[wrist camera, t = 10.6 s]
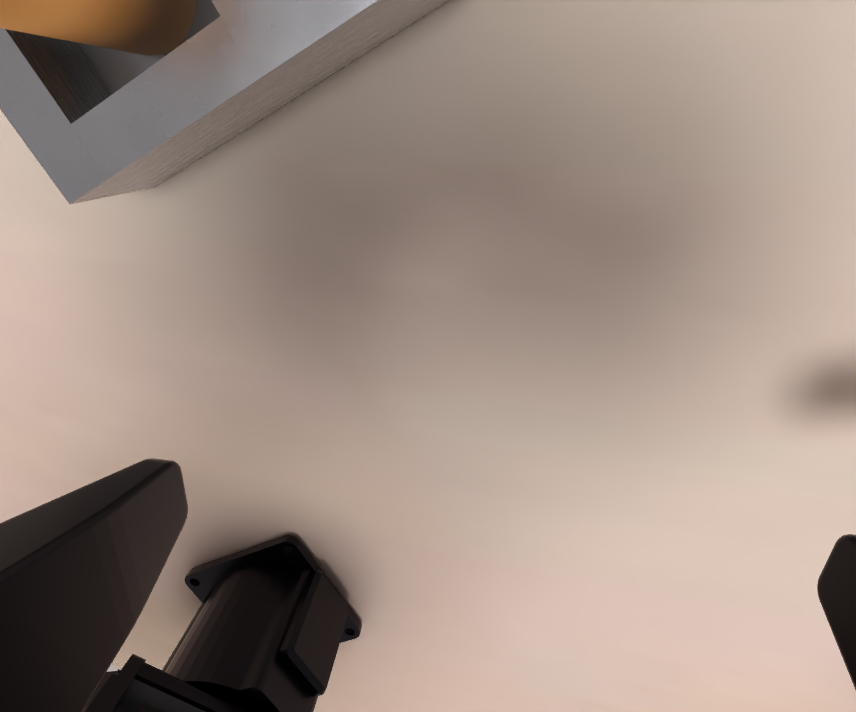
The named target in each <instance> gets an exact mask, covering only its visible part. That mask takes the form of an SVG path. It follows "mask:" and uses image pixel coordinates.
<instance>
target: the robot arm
mask: <svg viewBox="0 0 856 712" xmlns="http://www.w3.org/2000/svg"><path fill="white" fill-rule="evenodd" d="M187 512H188V506H187V499H186V494H185V488H184V483H183V477H182V472H181V468H180V466H179V465H178V463H176V462H174V461H171V460H161V459H146V460H143V461H141V462H138V463H136V464H134V465H132V466H129V467H127V468H125V469H123V470H120V471H118V472H116V473H113V474H111V475H109V476H107V477H104V478H102V479H100V480H98V481H95V482H93V483H91V484H89V485H86V486H84V487H82V488H79V489H77V490H75V491H73V492H70V493H68V494H66V495H64V496H61V497H59V498H57V499H54V500H52V501H50V502H48V503H45V504H43V505H41V506H39V507H36V508H34V509H32V510H29V511H27V512H25V513H23V514H20V515H18V516H16V517H14V518H11V519H9V520H7V521H5V522H2V523H0V712H313V711H314V708H315V704H316V701H317V698H318V696H319V695H322V694H324V692H325V690H326V687H327V684H328V681H329V677H330V674H331V671H332V667H333V664H334V660H335V657H336V653H337V650H338V646H339V643H341V642H345V641H348V640H352V639H355V638H357V637H359V635H360V632H361V628H362V624H361V622H360V621H359V619H358V618H357V617H356V615H355V614H354V613H353V611H352V610H351V609H350V607H349V606H348V605H347V603H346V602H345V601H344V599H343V598H342V597H341V595H340V594H339V593H338V591H337V590H336V589H335V587H334V586H333V584H332V583H331V582H330V580H329V579H328V578H327V576H326V575H325V574H324V572H323V571H322V570H321V568H320V567H319V566H318V564H317V563H316V562H315V560H314V559H313V558H312V556H311V555H310V554H309V552H308V551H307V549H306V548H305V547H304V545H303V544H302V543H301V541H300V540H299V539H298V538H296V537H294V536H290V535H288V536H283V537H281V538H278V539H275V540H272V541H269V542H266V543H264V544H261V545H258V546H255V547H252V548H249V549H247V550H244V551H241V552H238V553H235V554H232V555H230V556H227V557H224V558H221V559H218V560H216V561H213V562H210V563H207V564H204V565H201V566H199V567H196V568H193V569H191V570H190V571H189V573H188V574H187V576H186V578H185V583H186V584H187V586H188V587H189V588H190V589H191V590H192V591H193V593H194V594H195V595H196V596H197V597H198V598H199V600H200V601H201V602H202V605H201V606H200V608H199V610H198V611H197V613H196V615H195V616H194V618H193V620H192V621H191V623H190V625H189V626H188V628H187V630H186V631H185V633H184V635H183V636H182V638H181V640H180V641H179V643H178V645H177V646H176V648H175V650H174V651H173V653H172V655H171V656H170V658H169V660H168V661H167V663H166V665H165V666H164V668H163V670H160V669H157V668H155V667H153V666H151V665H149V664H147V663H145V661H146V660H145V659H143V658H141V657H139V656H137V655H135V654H132V656H131V657H130V658H129V660H128V661H127V663H126V664H125V665H124V667H123V668H122V670H119V669H118V671H112V672H106V671H107V669H108V668H109V666H110V665H111V663H112V661H113V660H114V658H115V657H116V655H117V653H118V652H119V650H120V648H121V647H122V645H123V644H124V642H125V640H126V638H127V637H128V635H129V633H130V632H131V630H132V628H133V627H134V625H135V623H136V621H137V619H138V617H139V615H140V614H141V612H142V610H143V608H144V606H145V604H146V602H147V600H148V598H149V596H150V594H151V592H152V589H153V587H154V585H155V583H156V581H157V579H158V577H159V575H160V573H161V571H162V569H163V567H164V565H165V563H166V561H167V559H168V557H169V555H170V553H171V550H172V548H173V546H174V544H175V542H176V540H177V538H178V536H179V534H180V532H181V530H182V528H183V526H184V524H185V521H186V518H187ZM288 546H289V547H291V548H289V547H288ZM818 596H819V599H820V602H821V605H822V607H823V610H824V612H825V615H826V617H827V620H828V622H829V625H830V627H831V630H832V632H833V635H834V637H835V640H836V642H837V645H838V647H839V650H840V652H841V655H842V657H843V660H844V662H845V665H846V667H847V670H848V672H849V675H850V677H851V680H852V682H853V685H854V687H855V690H856V535H852V534H848V535H843V536H842V537H841V538H839V539H838V540H837V542H836V543H835V546H834V548H833V550H832V552H831V554H830V556H829V558H828V560H827V562H826V564H825V566H824V568H823V570H822V573H821V575H820V577H819V580H818Z"/></svg>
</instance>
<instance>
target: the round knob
mask: <svg viewBox="0 0 856 712" xmlns="http://www.w3.org/2000/svg"><path fill="white" fill-rule="evenodd" d="M195 5H196V0H0V28H2V29H8V30H13V31H18V32H24V33H29V34H34V35H40V36H45V37H50V38H56V39H61V40H66V41H72V42H77V43H82V44H88V45H93V46H98V47H104V48H109V49H114V50H120V51H125V52H130V53H136V54H141V55H149V56H152V55H160V54H164V53H167V52H169V51H171V50H172V49H174V48H176V47H177V46H178V45H179V44H180V43H181V42H182V41H183V40H184V38H185V37H186V35H187V34H188V32H189V30H190V27H191V25H192V22H193V19H194V14H195Z"/></svg>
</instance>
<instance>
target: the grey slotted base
mask: <svg viewBox="0 0 856 712" xmlns="http://www.w3.org/2000/svg"><path fill="white" fill-rule="evenodd" d="M447 1H449V0H196V5H195V14H194V19H193V22H192V25H191V27H190V30H189V32H188V34H187V35H186V37H185V38H184V40H183V41H182V42H181V43H180V44H179V45H178V46H177V47H176V48H174V49H172V50H171V51H169V52H167V53H164V54H160V55H152V56H149V55H141V54H136V53H130V52H125V51H120V50H114V49H109V48H104V47H98V46H93V45H88V44H82V43H77V42H72V41H66V40H61V39H56V38H50V37H45V36H40V35H34V34H29V33H24V32H18V31H13V30H8V29H2V28H0V109H1V111H2V112H3V113H4V115H5V116H6V118H7V119H8V120H9V122H10V123H11V124H12V126H13V127H14V129H15V130H16V131H17V133H18V134H19V135H20V137H21V138H22V139H23V141H24V142H25V144H26V145H27V146H28V148H29V149H30V150H31V152H32V153H33V155H34V156H35V157H36V159H37V160H38V161H39V163H40V164H41V166H42V167H43V168H44V170H45V171H46V172H47V174H48V175H49V176H50V178H51V179H52V181H53V182H54V183H55V185H56V186H57V187H58V189H59V190H60V192H61V193H62V194H63V196H64V197H65V198H66V200H67V201H68V202H69V204H74V203H79V202H84V201H89V200H94V199H99V198H104V197H109V196H114V195H119V194H124V193H129V192H134V191H139V190H144V189H149V188H154V187H156V186H157V185H159V184H160V183H162V182H164V181H165V180H167V179H168V178H170V177H171V176H173V175H175V174H176V173H178V172H179V171H181V170H182V169H184V168H186V167H187V166H189V165H190V164H192V163H193V162H195V161H197V160H198V159H200V158H201V157H203V156H205V155H206V154H208V153H209V152H211V151H212V150H214V149H216V148H217V147H219V146H220V145H222V144H223V143H225V142H227V141H228V140H230V139H231V138H233V137H234V136H236V135H238V134H239V133H241V132H242V131H244V130H245V129H247V128H249V127H250V126H252V125H253V124H255V123H257V122H258V121H260V120H261V119H263V118H264V117H266V116H268V115H269V114H271V113H272V112H274V111H275V110H277V109H279V108H280V107H282V106H283V105H285V104H286V103H288V102H290V101H291V100H293V99H294V98H296V97H298V96H299V95H301V94H302V93H304V92H305V91H307V90H309V89H310V88H312V87H313V86H315V85H316V84H318V83H320V82H321V81H323V80H324V79H326V78H327V77H329V76H331V75H332V74H334V73H335V72H337V71H338V70H340V69H342V68H343V67H345V66H346V65H348V64H350V63H351V62H353V61H354V60H356V59H357V58H359V57H361V56H362V55H364V54H365V53H367V52H368V51H370V50H372V49H373V48H375V47H376V46H378V45H379V44H381V43H383V42H384V41H386V40H387V39H389V38H390V37H392V36H394V35H395V34H397V33H398V32H400V31H402V30H403V29H405V28H406V27H408V26H409V25H411V24H413V23H414V22H416V21H417V20H419V19H420V18H422V17H424V16H425V15H427V14H428V13H430V12H431V11H433V10H435V9H436V8H438V7H439V6H441V5H442V4H444V3H446V2H447Z"/></svg>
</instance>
